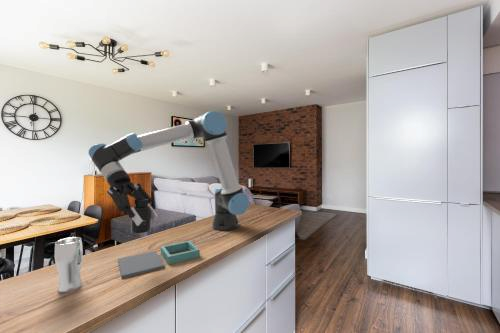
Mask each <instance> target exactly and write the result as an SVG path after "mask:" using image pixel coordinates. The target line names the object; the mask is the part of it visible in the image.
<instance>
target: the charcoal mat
mask: <svg viewBox="0 0 500 333" xmlns="http://www.w3.org/2000/svg"><path fill="white" fill-rule="evenodd" d="M117 263H118V268H119V273H120V277H121V279H127V278H130V277H134V276H137V275H141V274H146V273H148V272H153V271H157V270H160V269H165V268H166V267H165V266H166V264H164V262H163V260H162V259H161V257H160V256H159V254H158V252H157V251H156V250H152V251H148V252H143V253H138V254H134V255H130V256H128V255H127V256H125V257H120V258H117Z"/></svg>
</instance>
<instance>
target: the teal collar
mask: <svg viewBox="0 0 500 333" xmlns="http://www.w3.org/2000/svg"><path fill="white" fill-rule="evenodd" d="M183 250H187V251H183ZM179 251H183V252H179ZM174 252H178V253H174ZM200 252H201V251H200V249H199V248H198V247H197V246H196V245H195V244H194V243H193V242H192V241H191V240H186V241H180V242H177V243H171V244H165V245H162V246H160V254H161V256H162V257H163V260H165V262H166V263H167V265H168V266H169V265H173V264H176V263H180V262H185V261H189V260H192V259H197V258H200V256H201V255H200V254H201V253H200ZM170 253H174V254H170Z"/></svg>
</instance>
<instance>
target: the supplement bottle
mask: <svg viewBox="0 0 500 333" xmlns="http://www.w3.org/2000/svg"><path fill="white" fill-rule="evenodd" d="M133 205H134V206H132V207H133V208H134V209H135V210H136V212H137V213H138V215H139V216H140V218H141V219H142V220H143V221H142V222H141V224H140V225H139V226H137V225H136V224H135V222H134V221H133V219H132V218H130V231H131V233H133V234H142V233H143V234H144V233H148V232H149V231H150V230H151V228H152V226H151V225H152V219H151V207H150V206H148V199H135V198H134V204H133Z"/></svg>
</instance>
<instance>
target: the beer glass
mask: <svg viewBox="0 0 500 333" xmlns="http://www.w3.org/2000/svg"><path fill="white" fill-rule="evenodd" d="M83 253H84V251H83V242H82V238H81V237H80V236H79V237H78V236H72V237H71V236H70V237H65V238H60V239H59V240H57V241H55V242H54V262H55V268H56V271H57V274H58V279H59V282H58V287H57V292H59V293H61V292H62V293H63V292H66V293H70V291H71V292H74V291H76V290H77V289H79V287H80V288H81V287H82V286H83V281H82V276H81V269H82V263H83V255H84V254H83ZM63 294H64V293H63Z"/></svg>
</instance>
